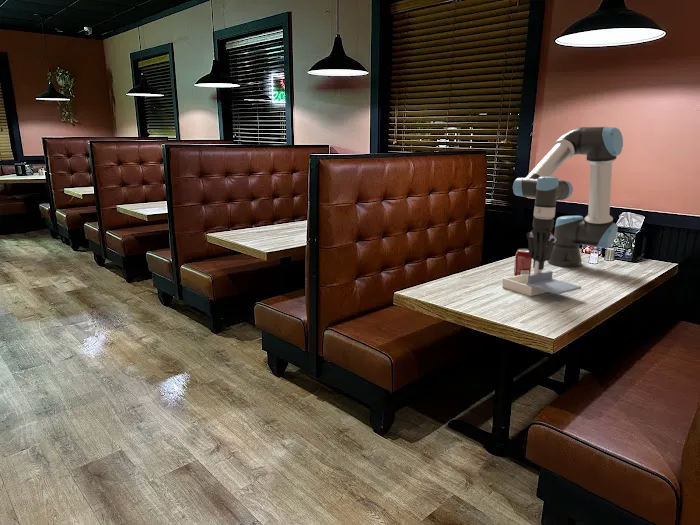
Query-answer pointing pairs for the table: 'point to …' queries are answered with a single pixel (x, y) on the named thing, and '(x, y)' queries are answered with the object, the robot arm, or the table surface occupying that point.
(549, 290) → the lid
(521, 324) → the table surface
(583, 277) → the table surface
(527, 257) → the soda can
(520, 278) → the mailer box
